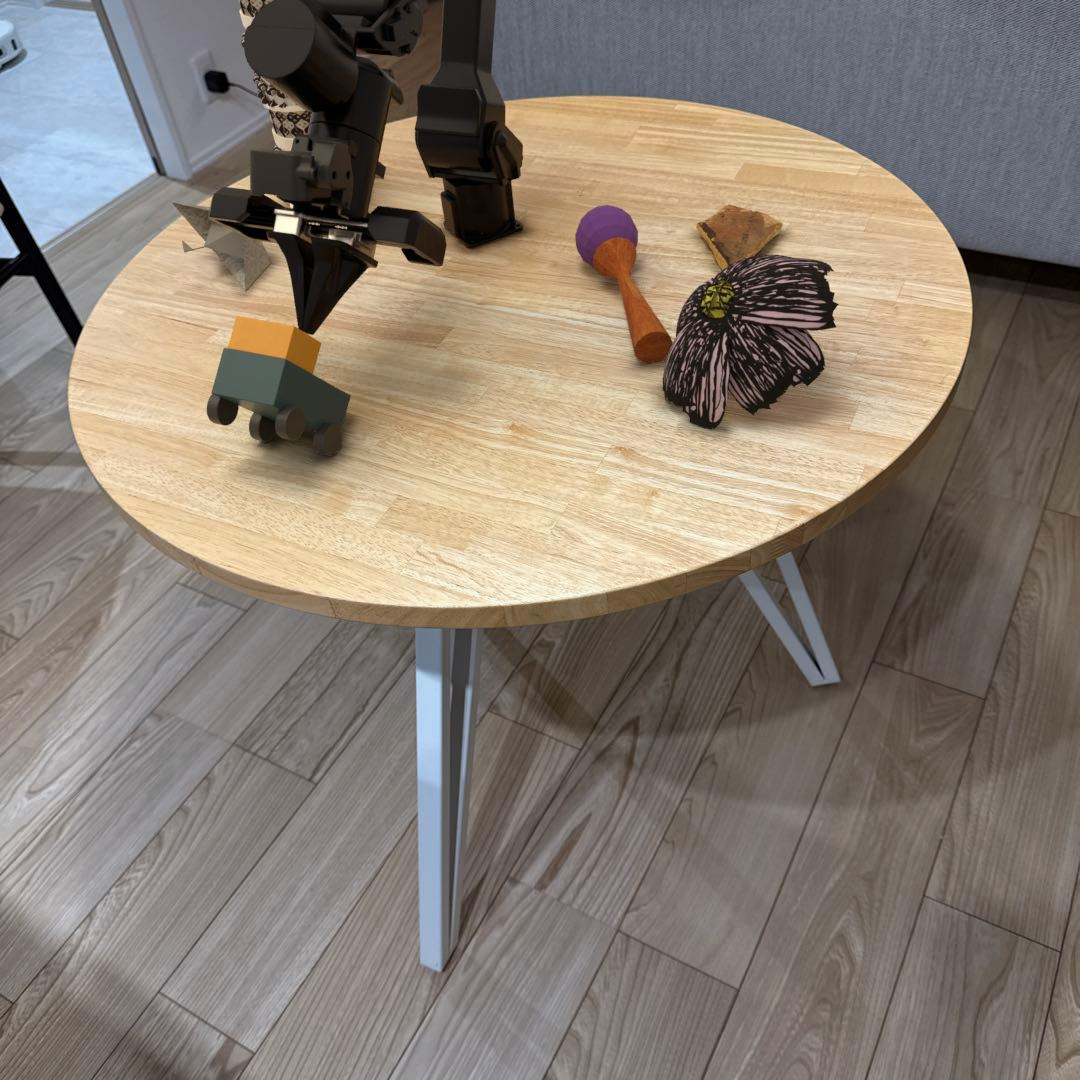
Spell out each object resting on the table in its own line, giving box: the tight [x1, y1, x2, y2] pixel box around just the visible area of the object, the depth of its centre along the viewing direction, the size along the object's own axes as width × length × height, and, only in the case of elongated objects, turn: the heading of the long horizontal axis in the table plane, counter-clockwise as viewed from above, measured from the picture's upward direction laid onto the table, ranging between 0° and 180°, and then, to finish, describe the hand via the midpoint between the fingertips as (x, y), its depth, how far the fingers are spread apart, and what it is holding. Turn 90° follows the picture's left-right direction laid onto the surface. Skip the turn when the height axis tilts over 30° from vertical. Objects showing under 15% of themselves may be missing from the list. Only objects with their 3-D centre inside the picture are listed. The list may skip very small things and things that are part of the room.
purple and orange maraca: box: [574, 204, 673, 364], centre depth 91 cm, size 6×6×20 cm
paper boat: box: [171, 201, 272, 292], centre depth 101 cm, size 12×6×9 cm
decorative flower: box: [662, 254, 839, 431], centre depth 80 cm, size 14×12×15 cm
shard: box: [695, 204, 784, 271], centre depth 97 cm, size 11×8×2 cm
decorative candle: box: [238, 0, 312, 208], centre depth 104 cm, size 9×9×25 cm
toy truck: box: [206, 315, 352, 457], centre depth 79 cm, size 8×7×10 cm
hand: (306, 333), depth 79 cm, fingers closed
